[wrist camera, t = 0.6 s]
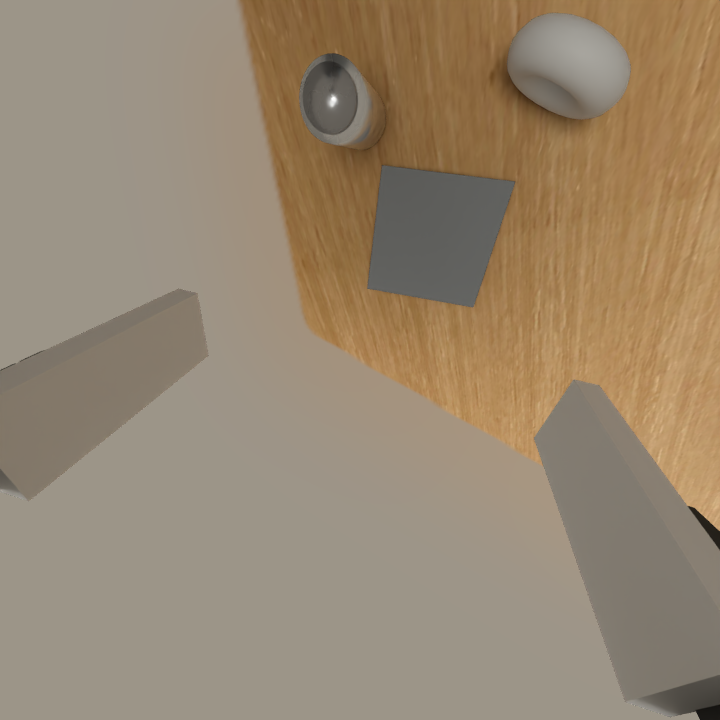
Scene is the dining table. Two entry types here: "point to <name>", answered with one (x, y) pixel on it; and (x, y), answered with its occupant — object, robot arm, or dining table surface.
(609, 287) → the dining table surface
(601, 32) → the donut
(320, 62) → the shaker
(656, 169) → the dining table surface
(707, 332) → the dining table surface
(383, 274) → the mat
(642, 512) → the robot arm
